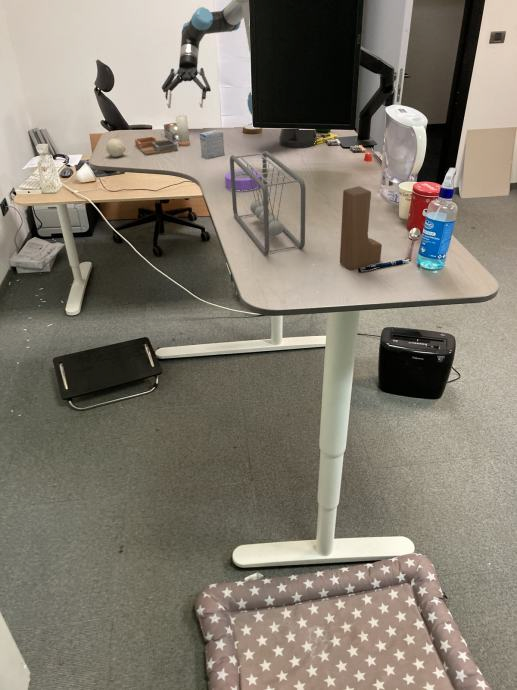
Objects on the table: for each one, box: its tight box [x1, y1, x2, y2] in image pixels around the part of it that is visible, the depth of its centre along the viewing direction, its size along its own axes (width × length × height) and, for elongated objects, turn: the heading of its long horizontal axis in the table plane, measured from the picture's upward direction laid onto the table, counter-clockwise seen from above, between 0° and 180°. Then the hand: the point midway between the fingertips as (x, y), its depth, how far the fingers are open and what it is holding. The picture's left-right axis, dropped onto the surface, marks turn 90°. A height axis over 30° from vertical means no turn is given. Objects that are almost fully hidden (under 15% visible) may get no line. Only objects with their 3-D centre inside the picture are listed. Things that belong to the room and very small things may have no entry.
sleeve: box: [175, 115, 191, 147], centre depth 220 cm, size 5×5×11 cm
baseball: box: [105, 138, 126, 158], centre depth 211 cm, size 7×7×7 cm
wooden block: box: [339, 186, 383, 271], centre depth 124 cm, size 9×4×18 cm, turn 119°
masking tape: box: [224, 169, 262, 192], centre depth 178 cm, size 12×12×4 cm
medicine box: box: [199, 129, 225, 160], centre depth 206 cm, size 8×4×9 cm, turn 128°
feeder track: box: [163, 122, 179, 143], centre depth 231 cm, size 11×6×5 cm, turn 24°
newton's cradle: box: [229, 150, 306, 256], centre depth 141 cm, size 30×10×18 cm, turn 18°
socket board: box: [134, 136, 178, 156], centre depth 220 cm, size 17×13×3 cm
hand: (184, 106), depth 223 cm, fingers open, 13 cm apart
